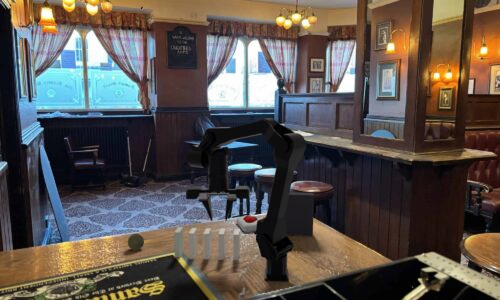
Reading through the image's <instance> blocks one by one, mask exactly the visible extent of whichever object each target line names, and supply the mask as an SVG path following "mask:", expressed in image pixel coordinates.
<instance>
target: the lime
mask: <svg viewBox="0 0 500 300" xmlns="http://www.w3.org/2000/svg"><path fill="white" fill-rule="evenodd" d="M144 243H145V239H144V236H142V235H141V234H139V233H133V234H131V235H130V236H129V237H128V240H127V246H128V248H129V249H130V250H132V251H140V249H142V248H143V246H144V245H145V244H144Z"/></svg>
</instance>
